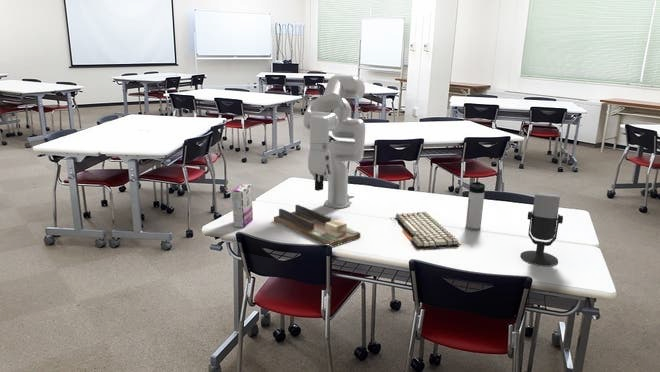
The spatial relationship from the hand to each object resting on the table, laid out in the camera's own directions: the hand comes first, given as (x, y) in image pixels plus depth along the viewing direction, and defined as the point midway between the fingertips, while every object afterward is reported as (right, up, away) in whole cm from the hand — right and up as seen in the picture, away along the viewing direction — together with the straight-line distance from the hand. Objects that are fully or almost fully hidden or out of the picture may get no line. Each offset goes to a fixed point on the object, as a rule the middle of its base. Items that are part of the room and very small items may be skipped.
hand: (319, 189), depth 203 cm
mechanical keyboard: (+44, -18, +6) cm, 48 cm away
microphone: (+82, -26, -20) cm, 88 cm away
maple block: (+7, -18, -4) cm, 20 cm away
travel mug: (+67, -17, +10) cm, 69 cm away
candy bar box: (-33, -15, +11) cm, 38 cm away
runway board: (-2, -17, +6) cm, 18 cm away
